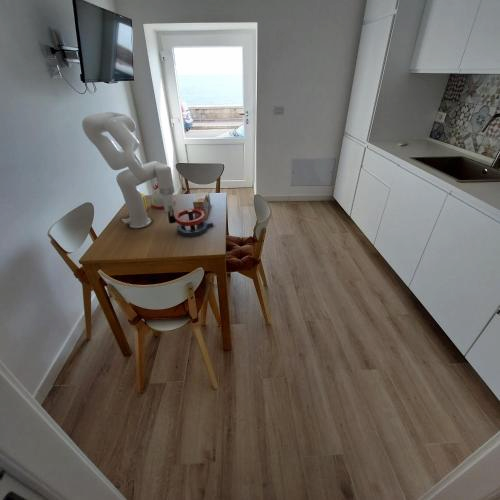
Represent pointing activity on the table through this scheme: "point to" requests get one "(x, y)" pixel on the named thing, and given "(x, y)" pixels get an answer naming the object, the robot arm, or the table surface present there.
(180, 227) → the slate ring
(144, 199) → the tape roll
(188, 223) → the red ring
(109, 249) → the table surface
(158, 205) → the white rounded dome
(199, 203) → the stack of blocks
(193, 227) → the ring peg
